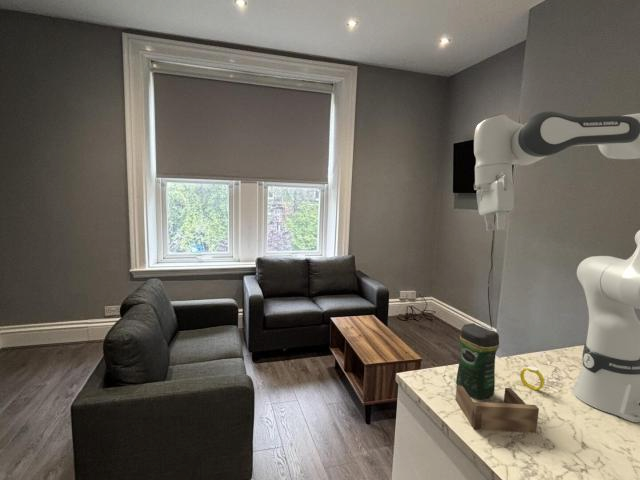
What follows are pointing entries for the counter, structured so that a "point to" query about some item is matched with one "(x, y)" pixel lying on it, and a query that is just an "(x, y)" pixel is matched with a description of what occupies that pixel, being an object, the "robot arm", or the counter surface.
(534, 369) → the watch
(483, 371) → the coffee jar
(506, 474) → the counter surface
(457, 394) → the wooden frame
